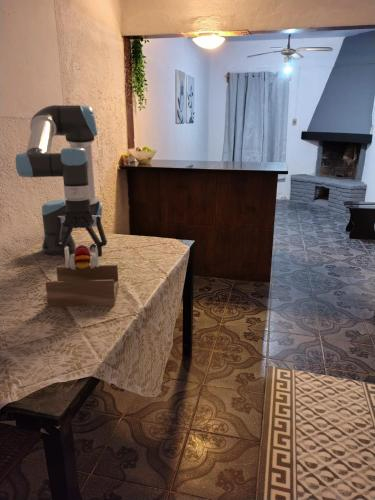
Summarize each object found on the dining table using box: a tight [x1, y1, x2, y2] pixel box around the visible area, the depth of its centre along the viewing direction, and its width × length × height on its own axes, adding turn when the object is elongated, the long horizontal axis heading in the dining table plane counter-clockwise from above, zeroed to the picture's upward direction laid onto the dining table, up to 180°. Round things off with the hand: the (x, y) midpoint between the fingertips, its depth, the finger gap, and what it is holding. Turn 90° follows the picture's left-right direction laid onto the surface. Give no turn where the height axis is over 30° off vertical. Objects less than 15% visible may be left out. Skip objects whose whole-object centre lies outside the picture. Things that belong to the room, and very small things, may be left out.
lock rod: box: [88, 243, 96, 265], centre depth 141 cm, size 19×3×3 cm, turn 5°
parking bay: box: [45, 264, 120, 308], centre depth 128 cm, size 15×21×8 cm
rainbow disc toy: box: [69, 244, 96, 270], centre depth 125 cm, size 8×10×7 cm
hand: (83, 266), depth 126 cm, fingers closed on rainbow disc toy, 9 cm apart
